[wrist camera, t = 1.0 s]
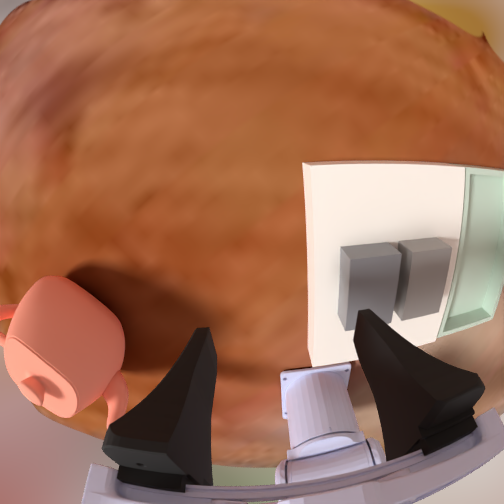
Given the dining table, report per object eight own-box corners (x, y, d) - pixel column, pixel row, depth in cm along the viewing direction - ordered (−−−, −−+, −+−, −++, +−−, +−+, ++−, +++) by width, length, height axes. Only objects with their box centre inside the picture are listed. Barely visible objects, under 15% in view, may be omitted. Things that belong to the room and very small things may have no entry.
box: (481, 308, 26) (492, 319, 24) (426, 324, 27) (437, 338, 24) (505, 169, 20) (521, 173, 17) (448, 163, 20) (465, 166, 18)
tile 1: (426, 298, 22) (438, 312, 20) (390, 305, 22) (401, 320, 20) (436, 237, 20) (452, 247, 17) (398, 240, 20) (412, 252, 17)
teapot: (140, 395, 31) (114, 470, 20) (21, 308, 26) (-31, 363, 15) (187, 341, 27) (160, 441, 16) (37, 230, 22) (-43, 281, 11)
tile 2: (380, 307, 22) (391, 323, 20) (337, 313, 22) (345, 331, 20) (387, 242, 20) (401, 253, 17) (340, 246, 20) (350, 259, 18)
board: (423, 325, 27) (435, 341, 24) (307, 347, 27) (312, 367, 24) (445, 163, 20) (465, 167, 17) (302, 162, 21) (310, 165, 18)
